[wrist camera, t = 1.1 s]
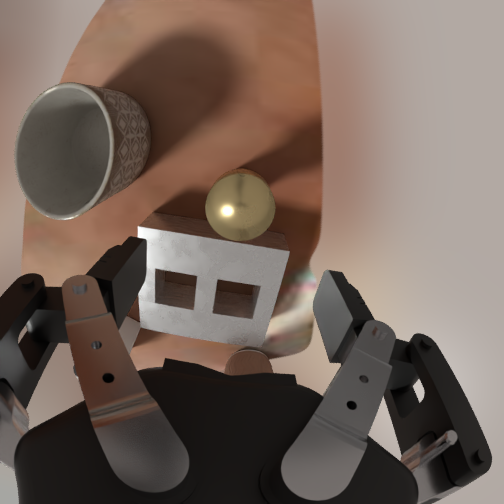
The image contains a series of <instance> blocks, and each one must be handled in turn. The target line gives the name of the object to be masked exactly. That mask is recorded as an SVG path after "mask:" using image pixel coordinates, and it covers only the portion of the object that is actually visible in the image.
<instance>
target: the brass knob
mask: <svg viewBox="0 0 504 504" xmlns="http://www.w3.org/2000/svg"><path fill="white" fill-rule="evenodd" d="M205 210H206V216H207V219H208V221H209V223H210V225H211V226H212V228H213V229H214V230H215V231H216V232H217V233H218V234H220V235H221V236H223V237H225V238H227V239H230V240H234V241H246V240H251V239H253V238H256V237H258V236H260V235H261V234H262V233H264V232H265V231H266V230H267V229H268V227H269V226H270V224H271V223H272V221H273V218H274V215H275V201H274V197H273V195H272V192H271V190H270V188H269V185H268V184H267V182H266V181H265V179H264V178H263V177H262V176H260V175H259V174H258V173H256V172H254V171H251V170H248V169H245V168H238V169H234V170H231V171H228V172H226V173H224V174H223V175H221V176H220V177H219V178H218V179H217V180H216V182H215V183H214V185H213V187H212V188H211V190H210V192H209V194H208V196H207V199H206V205H205Z"/></svg>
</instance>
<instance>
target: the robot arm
mask: <svg viewBox="0 0 504 504" xmlns="http://www.w3.org/2000/svg"><path fill="white" fill-rule="evenodd" d="M146 273H147V240H146V239H144V238H138V237H132V236H130V237H129V238H128V239H127V240H126V241H125V242H124V243H123V244H122V245H116V246H114V247H112V248H110V249H109V250H108V251H107V252H106V253H105V254H104V255H103V256H102V257H101V258H100V259H99V261H97V262H96V264H95V265H94V266H93V267H92V268H91V269H90V270H89V271H88V272H87V274H86V275H76V276H73V277H70V278H68V279H67V280H66V281H65V282H64V283H63V285H62V287H45V282H44V279H43V277H42V276H41V275H39V274H35V273H30V274H25V275H23V276H21V277H19V278H18V279H17V280H16V281H15V282H14V283H13V284H12V285H11V286H10V287H9V288H8V289H7V290H6V291H5V292H4V294H3V295H2V296H1V297H0V463H2V464H4V465H5V466H7V467H8V468H10V469H12V470H13V471H15V476H16V481H17V487H18V496H19V504H432V503H434V502H436V501H438V500H440V499H442V498H444V497H446V496H448V495H449V494H452V493H454V492H455V491H457V490H459V489H461V488H463V487H464V486H466V485H468V484H469V483H471V482H472V481H474V480H476V479H477V478H479V477H480V476H482V475H483V474H485V473H486V472H487V471H488V470H489V469H490V467H491V463H492V455H491V452H490V449H489V446H488V444H487V441H486V439H485V436H484V434H483V432H482V430H481V427H480V425H479V423H478V420H477V418H476V416H475V414H474V412H473V410H472V408H471V406H470V404H469V402H468V400H467V398H466V396H465V394H464V392H463V390H462V388H461V386H460V384H459V382H458V380H457V379H456V377H455V375H454V373H453V371H452V370H451V368H450V366H449V364H448V363H447V361H446V359H445V358H444V356H443V354H442V352H441V351H440V349H439V347H438V346H437V344H436V343H435V342H434V341H433V340H432V339H431V338H430V337H428V336H426V335H424V334H419V333H418V334H414V335H413V337H412V338H411V340H410V341H409V342H406V341H403V340H399V339H396V335H395V333H394V331H393V330H392V329H391V327H389V326H388V325H387V324H385V323H383V322H380V321H377V320H375V319H374V318H373V316H372V314H371V312H370V310H369V309H368V307H367V305H365V302H364V300H363V299H362V297H361V295H360V293H359V292H358V290H357V289H355V288H354V287H353V286H352V285H351V284H349V283H348V282H347V279H346V278H345V276H344V274H343V273H342V272H338V271H331V270H326V271H325V272H324V274H323V276H322V279H321V281H320V284H319V287H318V289H317V292H316V295H315V297H314V301H313V312H314V315H315V318H316V321H317V324H318V327H319V330H320V333H321V336H322V339H323V342H324V346H325V349H326V352H327V355H328V359H329V362H330V363H341V367H340V368H339V370H338V371H337V373H336V375H335V376H334V378H333V380H332V382H331V383H330V385H329V386H328V388H327V389H326V391H325V393H324V394H323V396H322V395H320V394H319V393H317V392H315V391H313V390H312V389H309V388H307V387H304V386H302V385H298V384H297V383H296V378H295V375H294V374H277V373H265V372H264V373H255V374H245V375H227V374H224V373H221V372H218V371H215V370H213V369H210V368H207V367H204V366H202V365H199V364H195V363H189V362H184V361H178V360H173V359H168V358H165V361H164V364H163V367H154V368H147V369H142V370H139V371H137V370H136V368H135V366H134V364H133V362H132V359H131V357H130V355H129V353H128V351H127V349H126V347H125V344H124V342H123V340H122V337H121V335H120V333H119V329H120V327H121V325H122V323H123V321H124V320H125V318H126V316H127V314H128V312H129V310H130V308H131V306H132V304H133V302H134V301H135V299H136V297H137V295H138V293H139V291H140V290H141V288H142V286H143V284H144V282H145V279H146ZM25 325H26V327H27V332H26V333H25V335H24V336H23V338H22V339H21V341H20V343H19V344H18V337H19V334H20V332H21V331H22V329H23V328H24V326H25ZM58 343H69V344H70V349H71V353H72V357H73V361H74V365H75V369H76V373H77V376H78V380H79V383H80V386H81V390H82V392H83V396H84V399H85V400H84V401H82V402H80V403H78V404H77V405H75V406H73V407H71V408H69V409H68V410H66V411H64V412H62V413H60V414H58V415H57V416H55V417H53V418H51V419H49V420H47V421H45V422H43V423H41V424H40V425H38V426H36V427H34V428H32V429H30V430H29V428H28V426H29V416H28V413H27V410H26V408H27V406H28V404H29V401H30V399H31V397H32V394H33V392H34V390H35V388H36V386H37V384H38V381H39V379H40V377H41V375H42V373H43V371H44V369H45V367H46V365H47V363H48V361H49V359H50V358H51V356H52V354H53V352H54V350H55V348H56V346H57V345H58ZM418 379H420V381H421V383H422V385H423V387H424V390H425V394H424V398H423V400H422V401H421V402H420V403H419V401H418V398H417V396H416V393H415V391H414V389H413V385H414V384H415V383H416V382H417V380H418ZM383 396H384V399H385V401H386V405H387V408H388V411H389V414H390V417H391V420H392V424H393V427H394V430H395V434H396V437H397V440H398V444H399V447H400V451H401V455H402V457H401V460H400V461H399V460H398V459H397V458H395V457H394V456H393V455H392V454H390V453H389V452H388V451H386V450H385V449H384V448H383V447H382V446H380V445H379V444H378V443H377V442H375V441H374V440H373V439H372V438H371V437H369V436H368V434H369V431H370V429H371V426H372V424H373V421H374V419H375V416H376V414H377V411H378V409H379V406H380V403H381V401H382V398H383Z"/></svg>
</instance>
